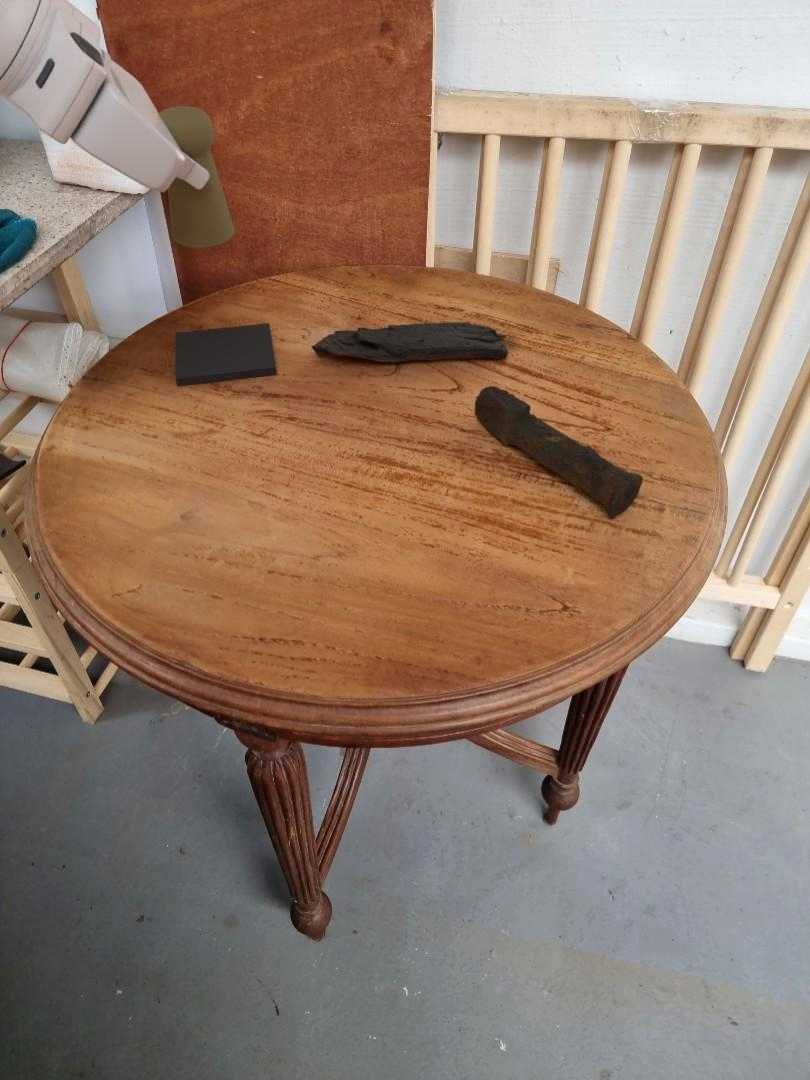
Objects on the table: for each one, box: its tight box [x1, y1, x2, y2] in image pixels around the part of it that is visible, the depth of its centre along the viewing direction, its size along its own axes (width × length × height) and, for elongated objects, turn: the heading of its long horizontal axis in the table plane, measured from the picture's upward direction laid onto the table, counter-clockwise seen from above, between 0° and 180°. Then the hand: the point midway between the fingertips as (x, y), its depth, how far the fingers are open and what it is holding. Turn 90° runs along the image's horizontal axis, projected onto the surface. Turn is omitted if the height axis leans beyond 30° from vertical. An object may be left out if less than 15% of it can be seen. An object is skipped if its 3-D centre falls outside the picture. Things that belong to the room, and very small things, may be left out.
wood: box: [310, 321, 509, 363], centre depth 87 cm, size 22×7×3 cm, turn 95°
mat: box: [174, 322, 278, 387], centre depth 86 cm, size 11×9×1 cm
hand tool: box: [474, 385, 644, 519], centre depth 73 cm, size 19×4×5 cm, turn 40°
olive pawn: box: [158, 105, 236, 249], centre depth 71 cm, size 6×6×11 cm
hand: (197, 169), depth 71 cm, fingers closed on olive pawn, 4 cm apart
